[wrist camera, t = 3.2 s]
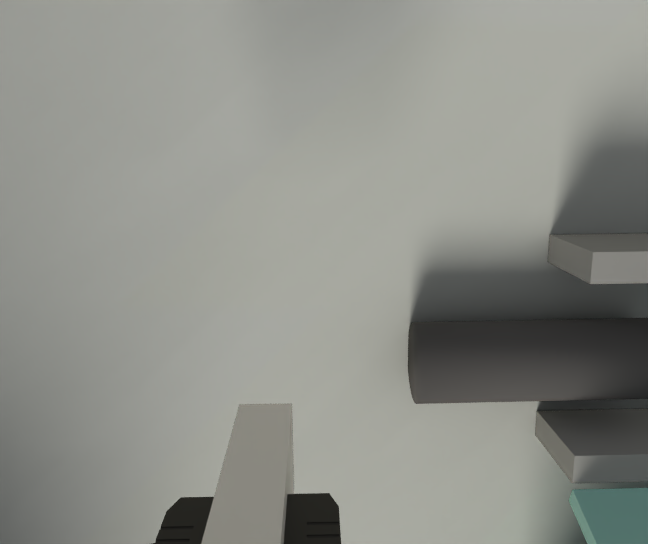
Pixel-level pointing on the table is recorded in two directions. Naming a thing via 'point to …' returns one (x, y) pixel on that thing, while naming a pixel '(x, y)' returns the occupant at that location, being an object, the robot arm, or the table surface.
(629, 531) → the cover
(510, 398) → the cylinder
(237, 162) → the table surface
